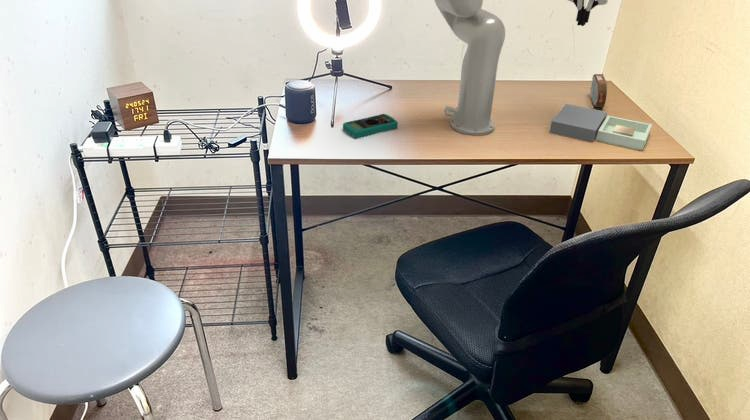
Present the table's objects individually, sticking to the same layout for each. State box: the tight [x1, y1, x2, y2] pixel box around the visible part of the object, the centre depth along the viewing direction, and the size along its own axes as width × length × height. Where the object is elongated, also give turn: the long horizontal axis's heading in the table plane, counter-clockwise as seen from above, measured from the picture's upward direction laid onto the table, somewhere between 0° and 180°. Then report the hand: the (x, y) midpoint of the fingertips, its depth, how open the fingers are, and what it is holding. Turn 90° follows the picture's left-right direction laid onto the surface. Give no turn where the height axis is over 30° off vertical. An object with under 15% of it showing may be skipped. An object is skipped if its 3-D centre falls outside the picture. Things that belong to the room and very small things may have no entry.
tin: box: [590, 73, 608, 109], centre depth 175 cm, size 15×3×8 cm, turn 168°
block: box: [613, 125, 635, 137], centre depth 154 cm, size 5×5×2 cm
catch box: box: [595, 115, 653, 152], centre depth 154 cm, size 12×13×3 cm
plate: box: [548, 103, 608, 143], centre depth 159 cm, size 12×16×4 cm
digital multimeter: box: [342, 113, 399, 140], centre depth 156 cm, size 7×15×3 cm, turn 123°
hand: (581, 24), depth 153 cm, fingers closed
